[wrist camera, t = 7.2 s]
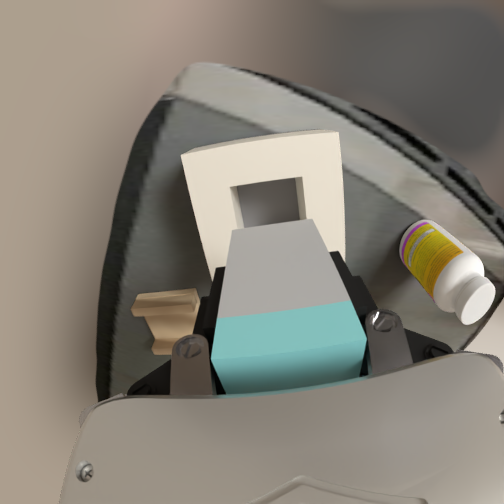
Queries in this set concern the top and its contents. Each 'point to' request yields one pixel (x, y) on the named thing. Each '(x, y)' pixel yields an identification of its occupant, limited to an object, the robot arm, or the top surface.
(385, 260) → the top surface
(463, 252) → the supplement bottle
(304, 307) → the plug
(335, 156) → the port block
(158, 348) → the cradle
